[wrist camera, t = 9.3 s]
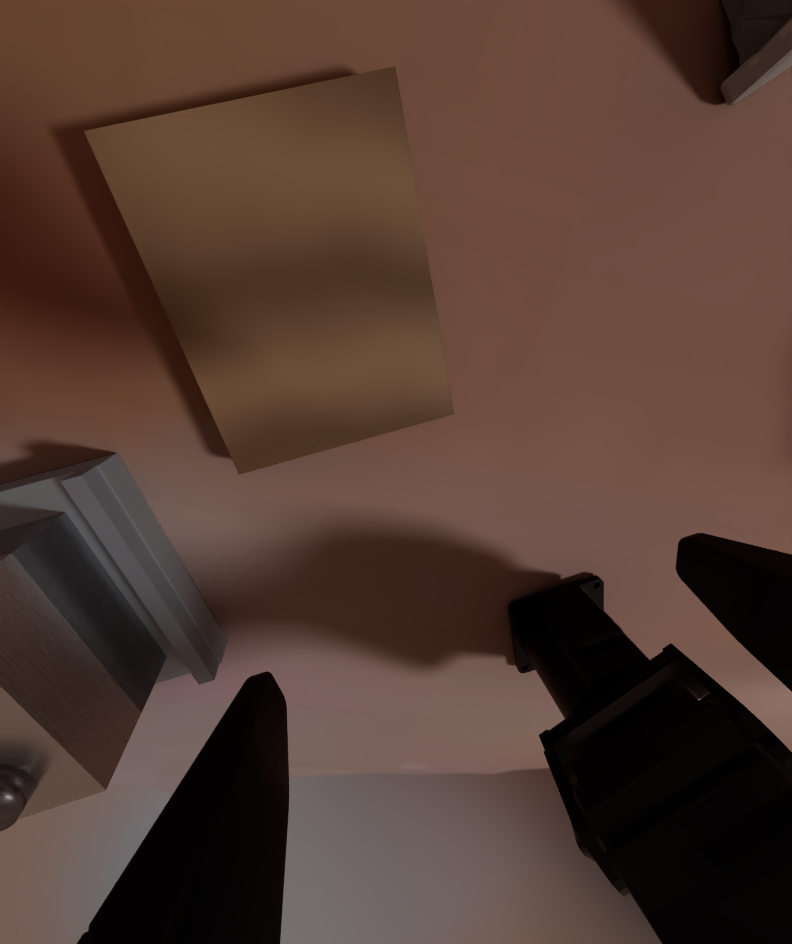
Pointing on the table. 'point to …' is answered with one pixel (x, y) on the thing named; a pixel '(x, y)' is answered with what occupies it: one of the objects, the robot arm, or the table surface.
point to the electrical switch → (758, 44)
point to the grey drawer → (64, 669)
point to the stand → (288, 261)
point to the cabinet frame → (126, 556)
